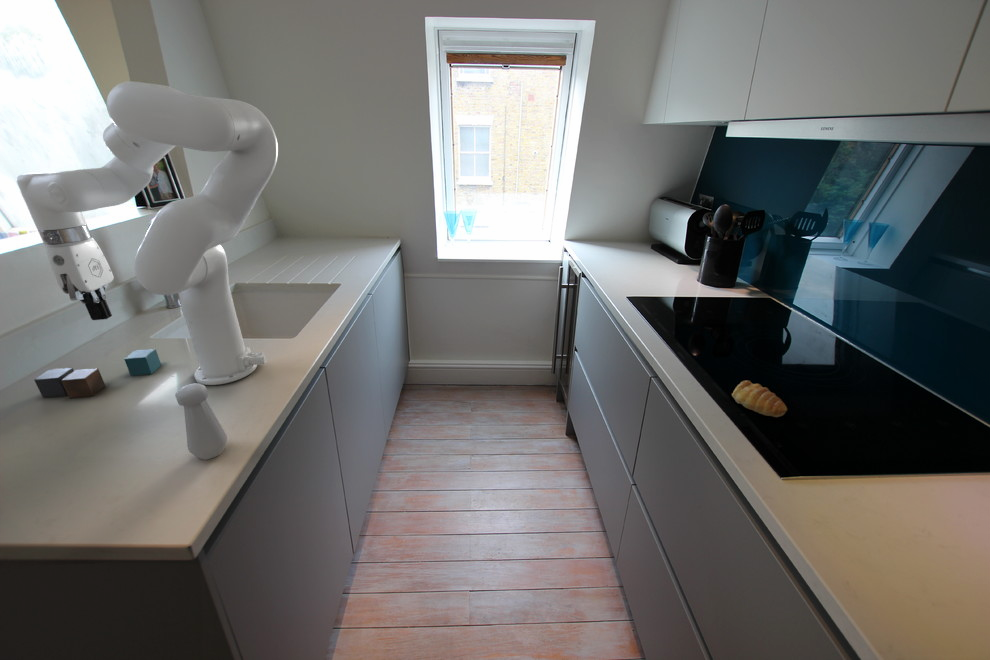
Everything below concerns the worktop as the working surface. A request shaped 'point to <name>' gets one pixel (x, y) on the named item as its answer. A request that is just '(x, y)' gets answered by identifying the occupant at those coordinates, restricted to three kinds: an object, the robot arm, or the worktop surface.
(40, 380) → the charcoal block
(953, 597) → the worktop surface
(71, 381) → the walnut block
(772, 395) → the pastry
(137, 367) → the teal block
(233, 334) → the robot arm
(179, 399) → the salt shaker
